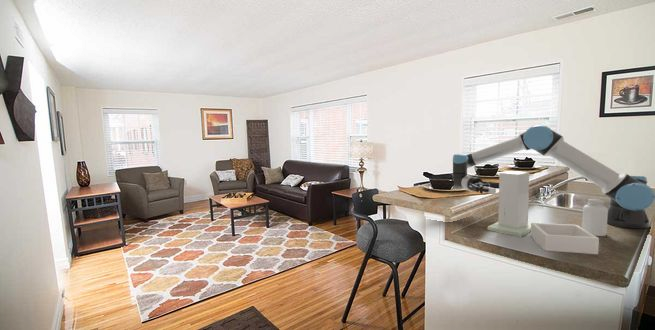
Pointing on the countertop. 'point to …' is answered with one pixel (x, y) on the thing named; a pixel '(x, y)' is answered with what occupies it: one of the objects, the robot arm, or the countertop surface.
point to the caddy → (564, 238)
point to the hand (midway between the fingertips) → (506, 190)
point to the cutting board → (511, 229)
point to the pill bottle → (595, 217)
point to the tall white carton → (513, 199)
